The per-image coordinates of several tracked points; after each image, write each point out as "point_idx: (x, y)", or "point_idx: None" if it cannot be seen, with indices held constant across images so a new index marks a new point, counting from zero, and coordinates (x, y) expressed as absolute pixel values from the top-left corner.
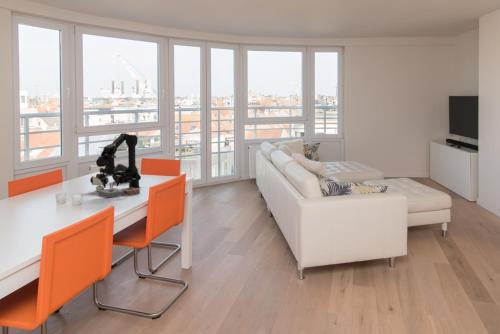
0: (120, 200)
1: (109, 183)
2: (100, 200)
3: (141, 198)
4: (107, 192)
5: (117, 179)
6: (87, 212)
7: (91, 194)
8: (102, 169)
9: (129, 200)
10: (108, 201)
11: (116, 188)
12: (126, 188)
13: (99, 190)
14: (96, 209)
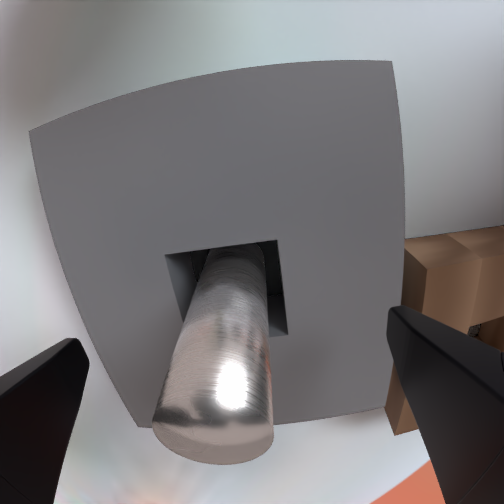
0: (233, 482)
1: (158, 425)
2: (79, 412)
3: (381, 483)
4: (136, 380)
5: (477, 460)
6: (55, 498)
7: (11, 74)
8: None
9: (288, 497)
10: (140, 463)
11: (400, 156)
12: (500, 275)
13: (38, 152)
14: (82, 500)
